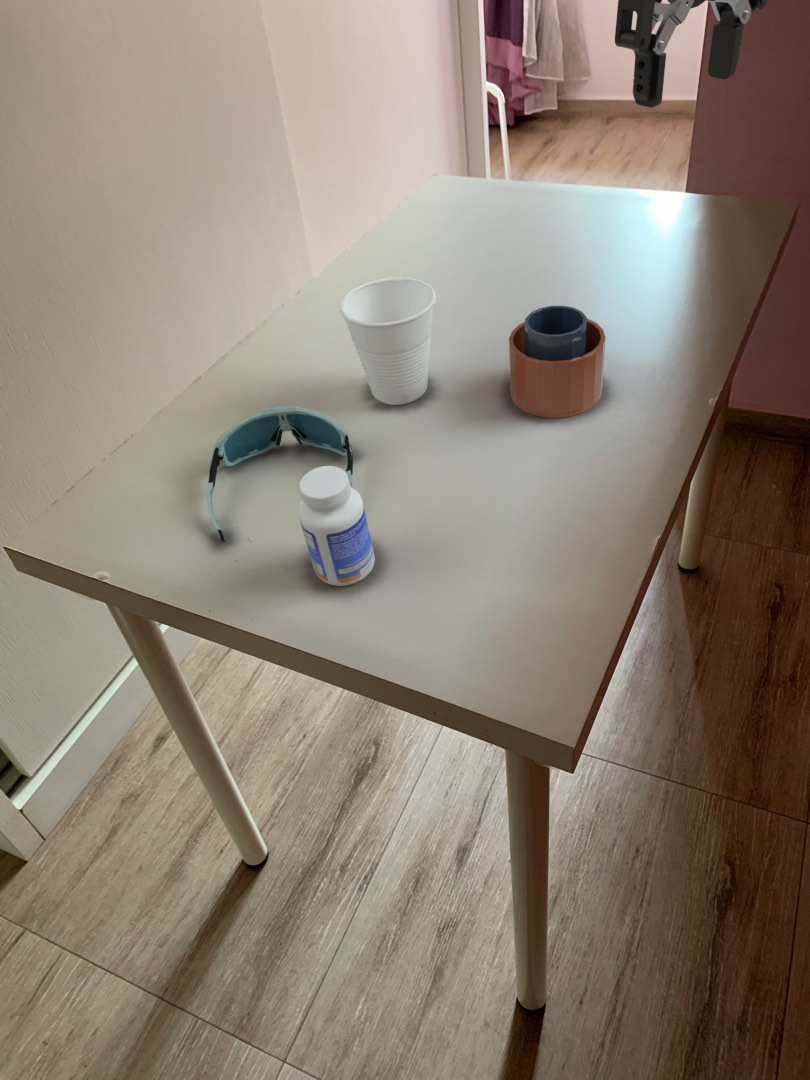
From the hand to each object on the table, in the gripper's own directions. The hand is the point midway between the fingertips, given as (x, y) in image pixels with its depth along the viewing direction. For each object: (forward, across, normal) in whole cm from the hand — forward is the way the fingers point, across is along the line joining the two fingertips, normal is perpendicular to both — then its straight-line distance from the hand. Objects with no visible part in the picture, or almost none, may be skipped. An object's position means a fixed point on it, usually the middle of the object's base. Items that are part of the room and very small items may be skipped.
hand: (685, 90), depth 66 cm
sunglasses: (+28, -38, +12) cm, 49 cm away
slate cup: (+28, -8, +6) cm, 29 cm away
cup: (+28, -20, +18) cm, 39 cm away
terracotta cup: (+28, -8, +6) cm, 30 cm away
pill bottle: (+28, -39, -1) cm, 48 cm away
